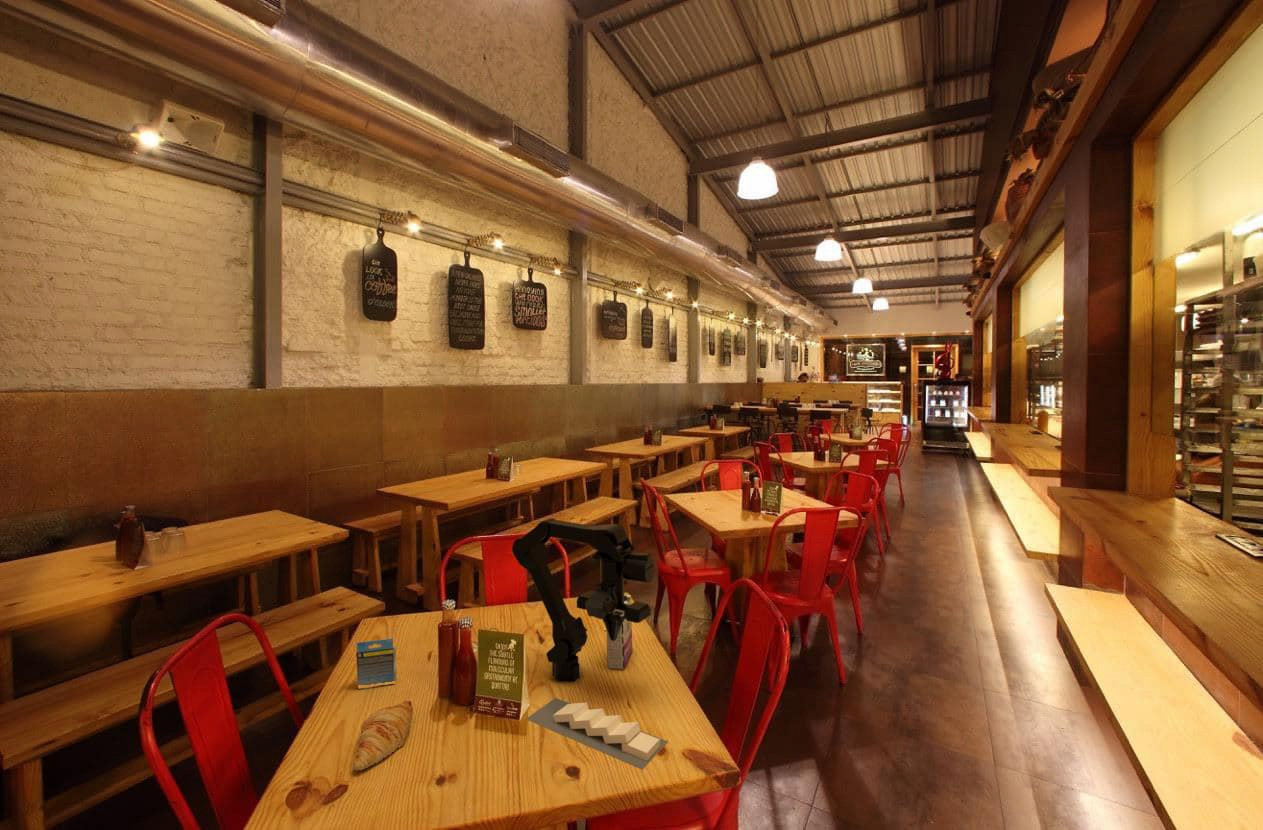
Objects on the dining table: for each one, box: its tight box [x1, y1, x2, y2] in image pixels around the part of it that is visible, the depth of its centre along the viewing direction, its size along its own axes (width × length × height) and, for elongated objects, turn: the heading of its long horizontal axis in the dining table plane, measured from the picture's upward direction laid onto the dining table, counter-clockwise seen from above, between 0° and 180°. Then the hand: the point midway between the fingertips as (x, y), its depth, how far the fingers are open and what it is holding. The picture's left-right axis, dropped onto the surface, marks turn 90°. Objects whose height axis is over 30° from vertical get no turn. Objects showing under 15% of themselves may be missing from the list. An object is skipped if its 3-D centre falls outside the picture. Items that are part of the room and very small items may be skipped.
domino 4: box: [603, 721, 641, 744], centre depth 114 cm, size 2×5×6 cm
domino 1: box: [553, 702, 590, 722], centre depth 121 cm, size 2×5×6 cm
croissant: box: [353, 700, 414, 771], centre depth 116 cm, size 21×10×8 cm, turn 177°
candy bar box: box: [605, 594, 633, 671], centre depth 150 cm, size 11×5×16 cm, turn 168°
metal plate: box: [525, 697, 669, 770], centre depth 118 cm, size 31×10×1 cm, turn 57°
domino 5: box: [622, 730, 660, 761], centre depth 111 cm, size 2×5×6 cm
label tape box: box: [355, 637, 398, 686], centre depth 140 cm, size 9×4×12 cm, turn 105°
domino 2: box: [569, 708, 606, 729], centre depth 119 cm, size 2×5×6 cm
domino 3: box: [585, 714, 623, 736], centre depth 116 cm, size 2×5×6 cm
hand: (613, 640), depth 134 cm, fingers closed
